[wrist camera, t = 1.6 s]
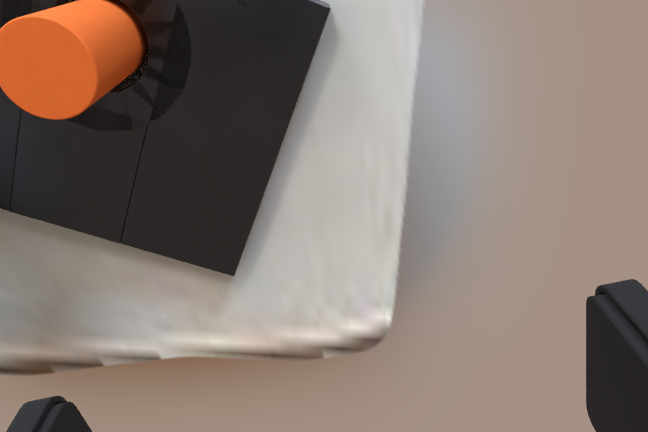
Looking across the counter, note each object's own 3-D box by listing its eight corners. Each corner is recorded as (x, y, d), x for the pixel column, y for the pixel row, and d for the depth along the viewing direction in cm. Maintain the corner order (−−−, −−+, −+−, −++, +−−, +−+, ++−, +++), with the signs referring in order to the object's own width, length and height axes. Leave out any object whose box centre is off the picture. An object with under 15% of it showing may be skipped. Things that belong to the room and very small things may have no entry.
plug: (61, 61, 30) (-15, 100, 23) (72, -18, 28) (-6, -2, 21) (138, 88, 31) (88, 133, 24) (155, 13, 29) (105, 38, 22)
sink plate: (-74, 173, 33) (-90, 183, 32) (-61, -153, 25) (-81, -158, 24) (236, 264, 37) (234, 276, 36) (329, 4, 29) (330, 8, 28)
